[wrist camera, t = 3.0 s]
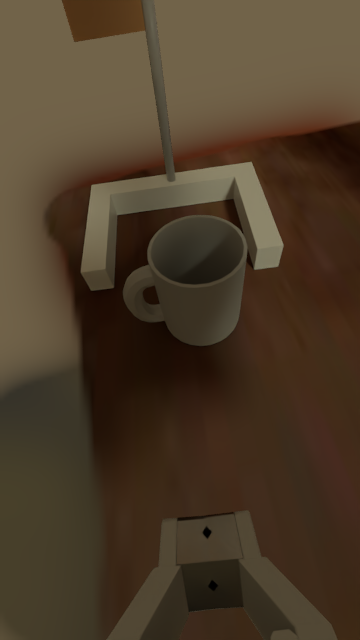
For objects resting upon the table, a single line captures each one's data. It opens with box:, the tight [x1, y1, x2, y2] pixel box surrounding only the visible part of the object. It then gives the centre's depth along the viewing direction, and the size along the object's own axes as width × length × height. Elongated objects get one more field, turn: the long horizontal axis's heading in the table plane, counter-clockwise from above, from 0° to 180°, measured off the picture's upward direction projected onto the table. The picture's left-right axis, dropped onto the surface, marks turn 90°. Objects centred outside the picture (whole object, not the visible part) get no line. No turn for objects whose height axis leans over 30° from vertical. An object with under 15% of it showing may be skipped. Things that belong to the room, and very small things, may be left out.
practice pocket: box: [62, 0, 284, 291], centre depth 26 cm, size 14×20×21 cm
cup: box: [123, 215, 248, 346], centre depth 25 cm, size 7×10×9 cm
